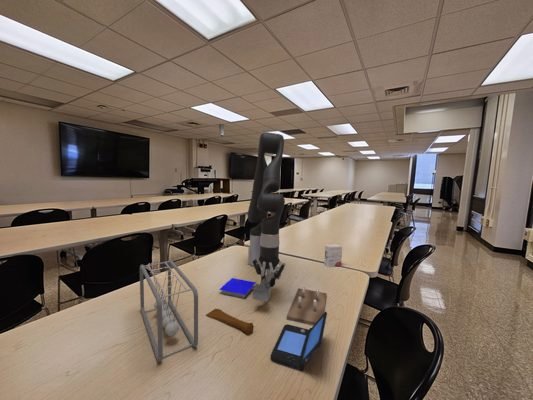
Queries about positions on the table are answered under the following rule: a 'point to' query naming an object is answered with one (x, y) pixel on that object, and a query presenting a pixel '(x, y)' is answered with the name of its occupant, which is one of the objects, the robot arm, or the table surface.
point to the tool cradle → (307, 306)
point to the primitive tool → (231, 320)
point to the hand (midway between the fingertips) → (268, 285)
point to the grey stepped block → (264, 287)
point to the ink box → (333, 255)
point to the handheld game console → (298, 344)
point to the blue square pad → (237, 287)
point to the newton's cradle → (167, 308)
